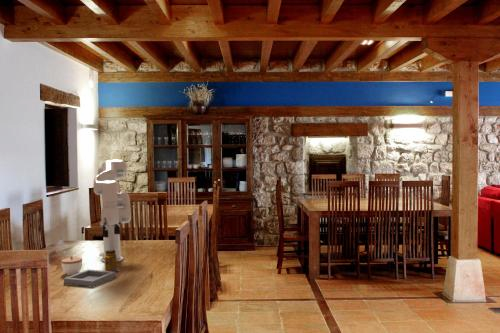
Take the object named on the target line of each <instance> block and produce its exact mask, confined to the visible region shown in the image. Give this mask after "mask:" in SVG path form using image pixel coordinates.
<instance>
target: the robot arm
mask: <svg viewBox="0 0 500 333" xmlns="http://www.w3.org/2000/svg"><path fill="white" fill-rule="evenodd" d="M127 172H128V166H127V163H126V161H125V160H122V159H112V160H111V159H110V160H105V161H104V162H102V164H101V166H100V167H98V169H97V175H96V176H95V177H94V179H93V188H92V189H93V192H94V194H95V195H97V196H101V195H102V209H101V213H100V222H99V226H100V228H101V230H102V237H103V252H102V251H101V252H100V253H99V255H98V256H99V257H102V258H101V262H103V263H105V256H106V255H105V254H106V253H105V252H106V251H107V250H115V253H116V254H115V255H116V259H117V262H120V261H123V259H124V257H123V256H122V255H121V238H120V235H121V234H120V231H121V230H120V227H121V224H128V223H130V222H131V220H132V208H131V198H130V195H129V193H128V192H120V191H121V184H120V182H119V181H118V180H119V179H120V180H121V179H123V180H124V179H125V178H126V177H127Z"/></svg>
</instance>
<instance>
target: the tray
mask: <svg viewBox="0 0 500 333" xmlns="http://www.w3.org/2000/svg"><path fill="white" fill-rule="evenodd" d="M116 278H117V273H116V272H111V271H106V270H100V269H99V270H97V269H88V268H87V269H86V270H82V271H79V272H78V273H77V274H74V275H68V276H66V277H64V278H63V285H66V284H72V285H71V286H75V285H82V286H81V287H85V286H91V287H90V288H95V287H97V286H100V285H102V284H105V283H106V282H108V281H111V280H113V279H116ZM99 284H100V285H99ZM96 285H97V286H96ZM94 286H95V287H94Z"/></svg>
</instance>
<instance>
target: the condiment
mask: <svg viewBox="0 0 500 333" xmlns="http://www.w3.org/2000/svg"><path fill="white" fill-rule="evenodd" d="M105 253H106V254H105V255H106V256H105V262H104V266H105V267H104V268H105V270H104V271H111V272H116V274H118V273H120V272H122V270H120V269H118V266H117V264H118V263H117V262H118V261H117V259H116V255H115V254H116V253H115V250H107V251H106V252H105Z"/></svg>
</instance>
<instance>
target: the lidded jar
mask: <svg viewBox="0 0 500 333" xmlns="http://www.w3.org/2000/svg"><path fill="white" fill-rule="evenodd" d="M60 262H61V270H62V271H63V272H64V273H65V274H66V275H67V276H72V275H74V274H77V273H80V272H81V270H82V268H83V258H82V257H78V256H77V257H76V256H75V257H73V256H70V257H67V258H63V259H61V261H60Z"/></svg>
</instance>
